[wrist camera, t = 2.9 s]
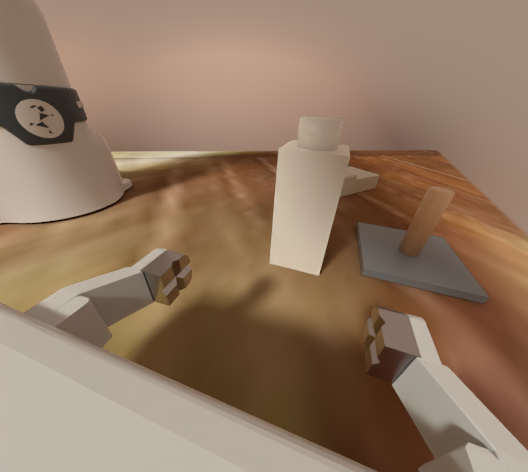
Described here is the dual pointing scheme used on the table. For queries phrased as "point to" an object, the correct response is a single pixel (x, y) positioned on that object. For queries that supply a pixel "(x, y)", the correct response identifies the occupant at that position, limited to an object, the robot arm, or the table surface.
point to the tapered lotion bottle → (307, 194)
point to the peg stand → (418, 253)
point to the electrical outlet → (358, 181)
